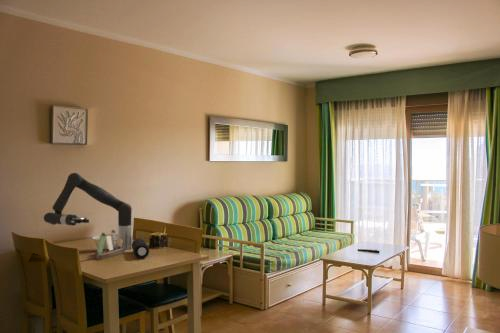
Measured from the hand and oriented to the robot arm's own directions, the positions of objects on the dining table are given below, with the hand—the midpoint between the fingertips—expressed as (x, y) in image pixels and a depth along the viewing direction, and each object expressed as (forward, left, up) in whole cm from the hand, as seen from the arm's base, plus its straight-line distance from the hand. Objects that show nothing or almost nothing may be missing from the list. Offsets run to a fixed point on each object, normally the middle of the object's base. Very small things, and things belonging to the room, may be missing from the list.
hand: (88, 221), depth 286 cm
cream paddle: (-15, -1, -21) cm, 25 cm away
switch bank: (-13, +1, -24) cm, 27 cm away
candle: (-51, -21, -24) cm, 60 cm away
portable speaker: (-34, +5, -24) cm, 42 cm away
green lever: (-7, +7, -21) cm, 23 cm away
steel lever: (-19, -5, -21) cm, 29 cm away
